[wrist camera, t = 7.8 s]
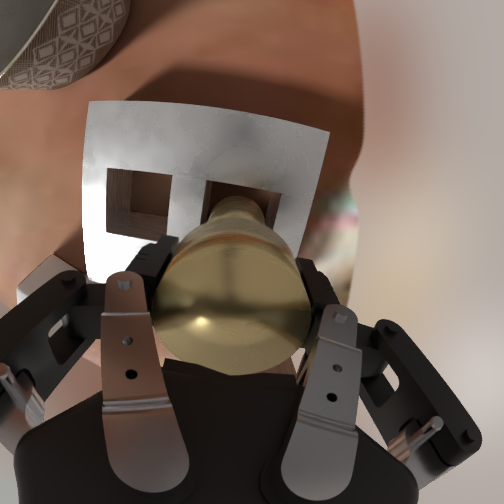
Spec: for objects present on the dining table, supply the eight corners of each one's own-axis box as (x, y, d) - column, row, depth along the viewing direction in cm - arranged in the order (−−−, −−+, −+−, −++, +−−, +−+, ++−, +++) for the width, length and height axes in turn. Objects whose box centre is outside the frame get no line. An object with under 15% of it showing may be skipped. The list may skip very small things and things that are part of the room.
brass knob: (201, 175, 16) (151, 238, 7) (286, 190, 17) (334, 268, 8) (191, 252, 19) (154, 362, 10) (267, 264, 19) (286, 380, 10)
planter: (164, -7, 13) (119, -65, 4) (82, 109, 18) (0, 114, 8) (79, -27, 10) (26, -58, 1) (16, 71, 14) (-53, 73, 5)
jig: (119, 104, 18) (89, 101, 13) (311, 130, 20) (330, 132, 15) (111, 253, 24) (88, 279, 19) (273, 281, 26) (278, 314, 21)
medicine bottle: (52, 252, 24) (-14, 316, 13) (102, 283, 25) (47, 364, 15) (47, 295, 26) (-3, 360, 16) (91, 323, 28) (50, 398, 17)
